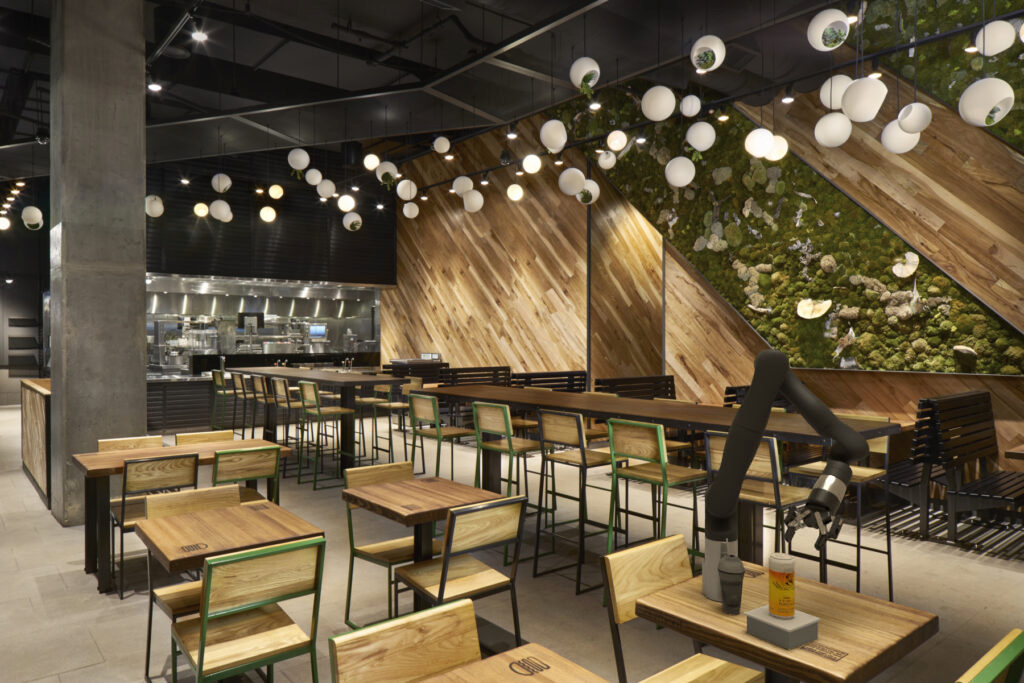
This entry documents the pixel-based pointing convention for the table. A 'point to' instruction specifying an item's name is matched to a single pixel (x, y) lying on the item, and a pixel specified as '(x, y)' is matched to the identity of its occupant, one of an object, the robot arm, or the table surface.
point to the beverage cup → (731, 582)
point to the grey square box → (782, 627)
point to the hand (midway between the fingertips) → (801, 544)
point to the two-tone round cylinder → (781, 585)
